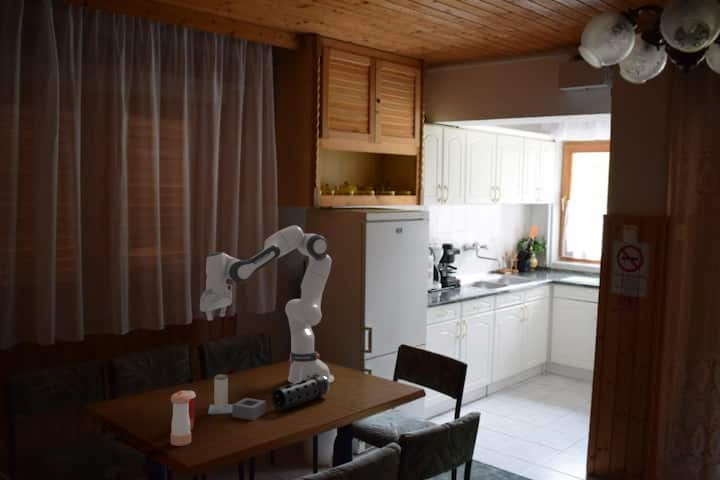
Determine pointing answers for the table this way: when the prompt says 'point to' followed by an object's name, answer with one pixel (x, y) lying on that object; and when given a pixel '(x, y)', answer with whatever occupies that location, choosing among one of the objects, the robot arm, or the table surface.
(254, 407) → the header
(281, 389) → the muzzle brake
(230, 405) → the mat
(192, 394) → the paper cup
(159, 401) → the table surface
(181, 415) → the pepper shaker
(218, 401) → the plug
